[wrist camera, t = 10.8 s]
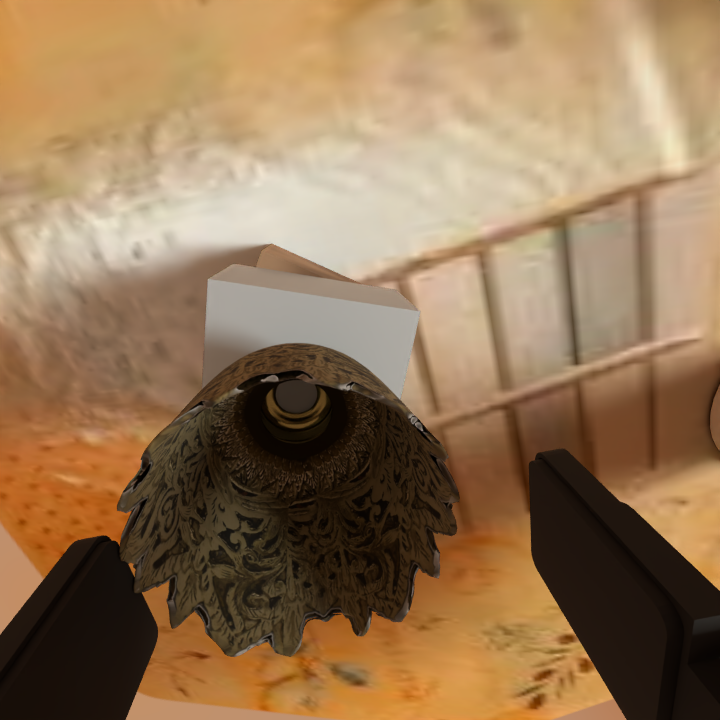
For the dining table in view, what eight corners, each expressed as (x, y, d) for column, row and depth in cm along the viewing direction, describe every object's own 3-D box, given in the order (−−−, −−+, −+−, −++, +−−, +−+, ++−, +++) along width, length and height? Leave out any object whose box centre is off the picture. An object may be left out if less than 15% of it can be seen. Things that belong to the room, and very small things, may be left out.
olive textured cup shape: (218, 484, 17) (160, 690, 10) (179, 313, 15) (61, 413, 7) (390, 458, 18) (459, 628, 10) (382, 294, 15) (465, 364, 8)
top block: (396, 290, 20) (420, 311, 16) (367, 428, 23) (381, 483, 18) (233, 263, 19) (207, 278, 14) (222, 413, 22) (197, 467, 17)
